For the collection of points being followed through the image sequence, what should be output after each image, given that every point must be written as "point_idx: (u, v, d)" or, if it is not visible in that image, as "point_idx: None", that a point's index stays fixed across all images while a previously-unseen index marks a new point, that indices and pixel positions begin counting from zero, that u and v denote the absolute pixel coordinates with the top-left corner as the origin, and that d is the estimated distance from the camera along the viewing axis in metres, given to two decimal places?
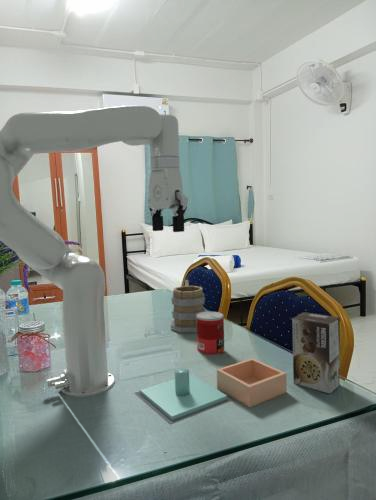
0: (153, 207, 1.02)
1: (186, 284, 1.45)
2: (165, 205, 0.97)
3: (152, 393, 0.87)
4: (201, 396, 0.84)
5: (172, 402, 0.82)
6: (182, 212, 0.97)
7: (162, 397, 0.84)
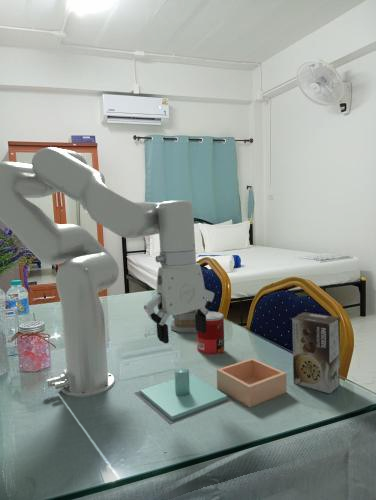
0: (179, 312, 0.80)
1: None
2: (201, 305, 0.84)
3: (152, 393, 0.87)
4: (201, 396, 0.84)
5: (172, 402, 0.82)
6: None
7: (162, 397, 0.84)
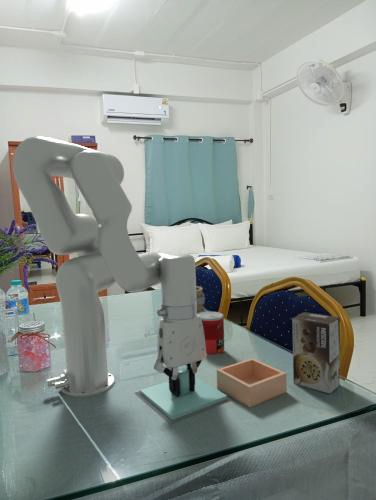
0: (179, 365, 0.82)
1: None
2: (201, 357, 0.85)
3: (152, 393, 0.87)
4: (201, 396, 0.84)
5: (172, 402, 0.82)
6: None
7: (162, 397, 0.84)
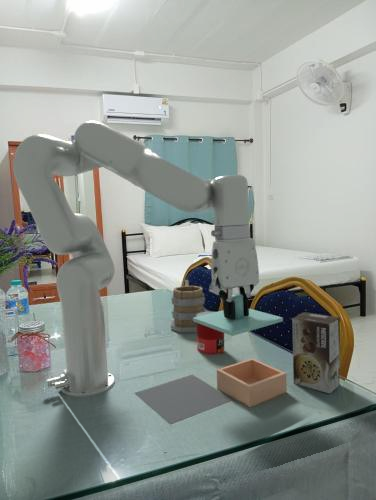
0: (234, 285, 0.81)
1: (186, 284, 1.45)
2: (255, 280, 0.84)
3: (206, 319, 0.86)
4: (256, 319, 0.84)
5: (228, 324, 0.81)
6: None
7: (217, 321, 0.84)
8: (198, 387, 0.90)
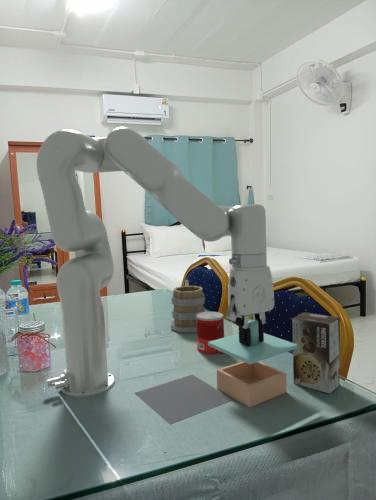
0: (251, 313, 0.83)
1: (186, 284, 1.45)
2: (270, 307, 0.86)
3: (221, 344, 0.87)
4: (272, 345, 0.85)
5: (245, 350, 0.83)
6: None
7: (233, 347, 0.85)
8: (198, 387, 0.90)
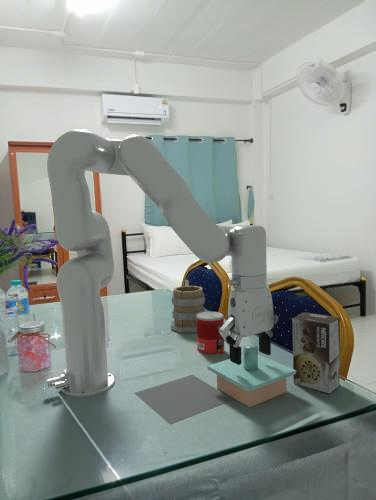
0: (250, 334, 0.83)
1: (186, 284, 1.45)
2: (270, 327, 0.86)
3: (220, 368, 0.88)
4: (270, 371, 0.86)
5: (244, 376, 0.83)
6: None
7: (232, 372, 0.86)
8: (198, 387, 0.90)
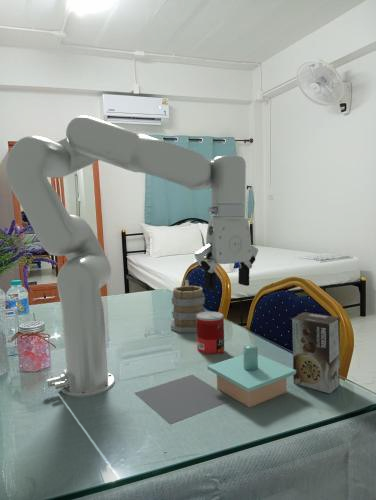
0: (227, 261, 0.85)
1: (186, 284, 1.45)
2: (247, 258, 0.88)
3: (220, 368, 0.88)
4: (270, 371, 0.86)
5: (244, 376, 0.83)
6: None
7: (232, 372, 0.86)
8: (198, 387, 0.90)
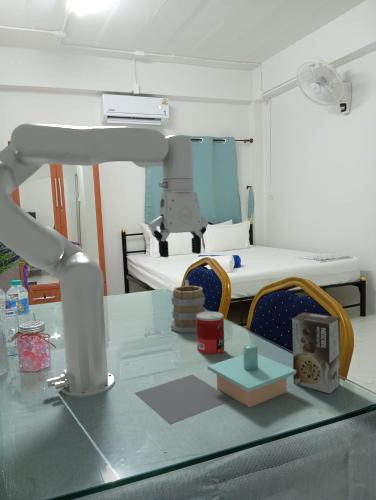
0: (177, 230, 0.95)
1: (186, 284, 1.45)
2: (197, 228, 0.98)
3: (220, 368, 0.88)
4: (270, 371, 0.86)
5: (244, 376, 0.83)
6: None
7: (232, 372, 0.86)
8: (198, 387, 0.90)
